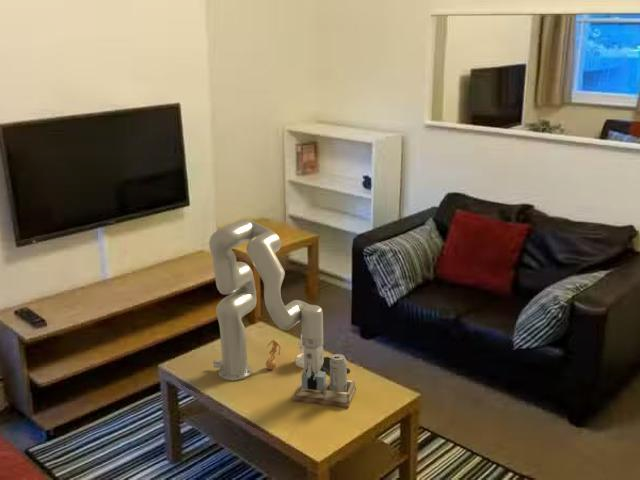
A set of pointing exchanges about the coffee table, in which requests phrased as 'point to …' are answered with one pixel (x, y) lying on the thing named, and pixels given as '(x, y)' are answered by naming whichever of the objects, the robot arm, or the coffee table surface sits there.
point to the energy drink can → (338, 373)
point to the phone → (328, 366)
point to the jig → (326, 395)
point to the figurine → (271, 362)
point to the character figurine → (300, 357)
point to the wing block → (319, 379)
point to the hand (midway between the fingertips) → (313, 385)
